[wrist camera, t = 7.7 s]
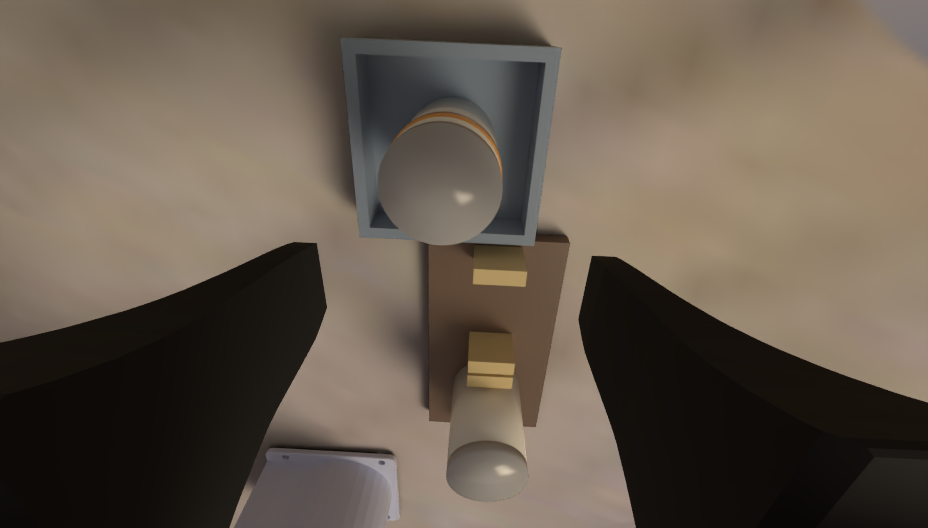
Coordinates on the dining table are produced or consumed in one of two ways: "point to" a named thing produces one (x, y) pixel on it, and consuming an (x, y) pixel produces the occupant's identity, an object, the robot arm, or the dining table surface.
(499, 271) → the fuse holder
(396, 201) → the cylinder
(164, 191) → the dining table surface
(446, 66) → the tray
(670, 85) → the dining table surface
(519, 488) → the cylinder
